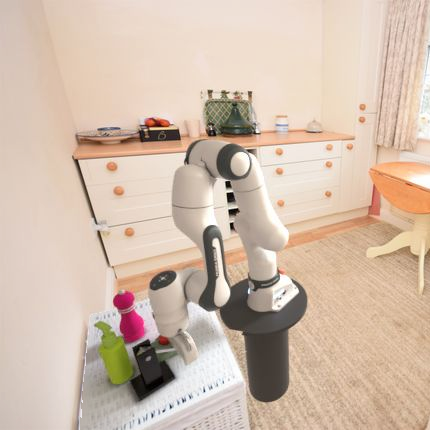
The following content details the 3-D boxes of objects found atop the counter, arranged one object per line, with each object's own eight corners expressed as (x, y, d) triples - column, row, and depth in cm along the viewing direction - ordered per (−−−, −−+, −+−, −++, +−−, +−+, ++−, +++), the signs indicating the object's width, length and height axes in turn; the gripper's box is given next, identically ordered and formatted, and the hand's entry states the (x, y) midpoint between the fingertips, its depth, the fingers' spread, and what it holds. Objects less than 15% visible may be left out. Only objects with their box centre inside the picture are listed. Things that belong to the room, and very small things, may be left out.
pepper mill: (151, 329, 106) (138, 284, 98) (136, 344, 100) (121, 298, 91) (133, 325, 107) (120, 281, 99) (117, 341, 101) (101, 295, 92)
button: (170, 333, 100) (169, 329, 99) (175, 340, 98) (174, 336, 97) (157, 340, 97) (156, 336, 97) (162, 347, 95) (161, 343, 94)
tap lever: (175, 346, 93) (178, 339, 93) (182, 355, 90) (185, 348, 90) (134, 351, 84) (138, 344, 84) (141, 362, 81) (144, 354, 80)
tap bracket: (165, 362, 94) (156, 330, 88) (175, 378, 89) (167, 345, 83) (130, 383, 87) (118, 350, 81) (139, 401, 82) (127, 367, 77)
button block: (179, 332, 105) (177, 324, 103) (189, 345, 100) (187, 336, 99) (146, 350, 98) (144, 342, 96) (155, 365, 93) (153, 356, 91)
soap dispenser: (123, 362, 93) (107, 314, 85) (137, 371, 91) (121, 323, 82) (104, 377, 88) (84, 328, 80) (118, 387, 86) (99, 337, 77)
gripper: (200, 334, 83) (206, 368, 88) (170, 300, 95) (177, 331, 101) (177, 347, 78) (186, 382, 84) (149, 309, 91) (158, 342, 97)
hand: (181, 354), depth 93 cm, fingers open, 8 cm apart
